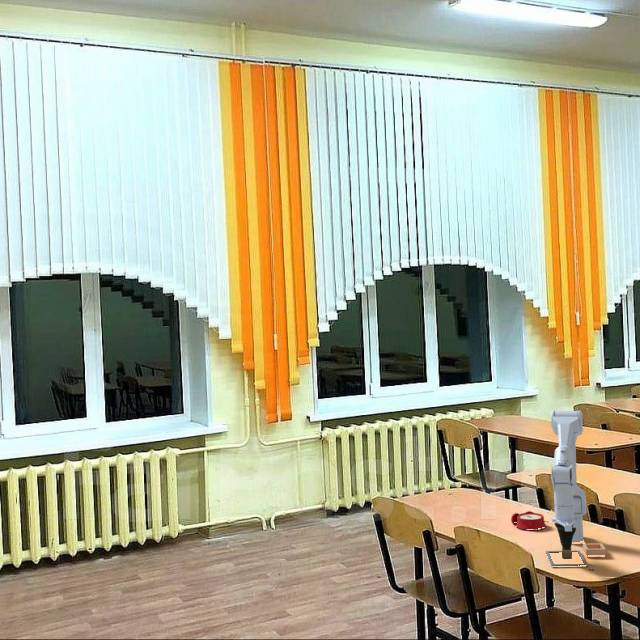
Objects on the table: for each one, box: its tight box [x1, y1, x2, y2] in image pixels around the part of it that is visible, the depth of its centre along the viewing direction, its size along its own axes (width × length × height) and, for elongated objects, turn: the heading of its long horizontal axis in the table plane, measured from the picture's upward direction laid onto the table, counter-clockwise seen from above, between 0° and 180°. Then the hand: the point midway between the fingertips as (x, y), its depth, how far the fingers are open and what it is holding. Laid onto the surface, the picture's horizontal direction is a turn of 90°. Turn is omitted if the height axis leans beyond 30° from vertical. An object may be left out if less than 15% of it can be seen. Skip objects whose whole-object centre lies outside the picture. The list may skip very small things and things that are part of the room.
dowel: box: [561, 546, 572, 559], centre depth 264 cm, size 3×3×8 cm
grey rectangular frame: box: [545, 550, 588, 567], centre depth 265 cm, size 14×11×1 cm
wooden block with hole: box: [582, 542, 607, 556], centre depth 269 cm, size 6×6×3 cm
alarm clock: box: [510, 510, 549, 530], centre depth 305 cm, size 10×6×15 cm
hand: (565, 547), depth 264 cm, fingers closed on dowel, 3 cm apart
